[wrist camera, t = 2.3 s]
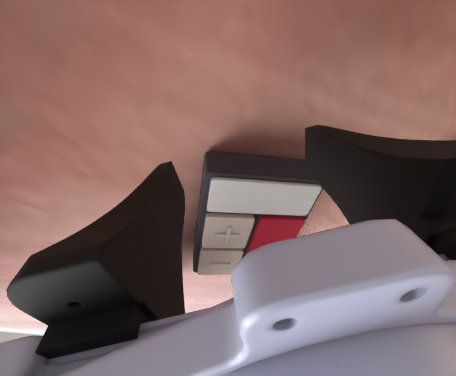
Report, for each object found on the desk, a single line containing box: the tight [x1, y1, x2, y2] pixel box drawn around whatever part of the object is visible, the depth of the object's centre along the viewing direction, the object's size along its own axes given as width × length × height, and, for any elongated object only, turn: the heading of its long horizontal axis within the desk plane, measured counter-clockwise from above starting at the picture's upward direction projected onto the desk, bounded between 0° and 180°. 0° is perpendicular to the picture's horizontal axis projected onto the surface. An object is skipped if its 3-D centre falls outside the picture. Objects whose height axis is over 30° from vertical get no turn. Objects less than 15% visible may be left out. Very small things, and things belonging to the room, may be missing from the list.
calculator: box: [193, 151, 323, 275], centre depth 24 cm, size 11×4×15 cm
